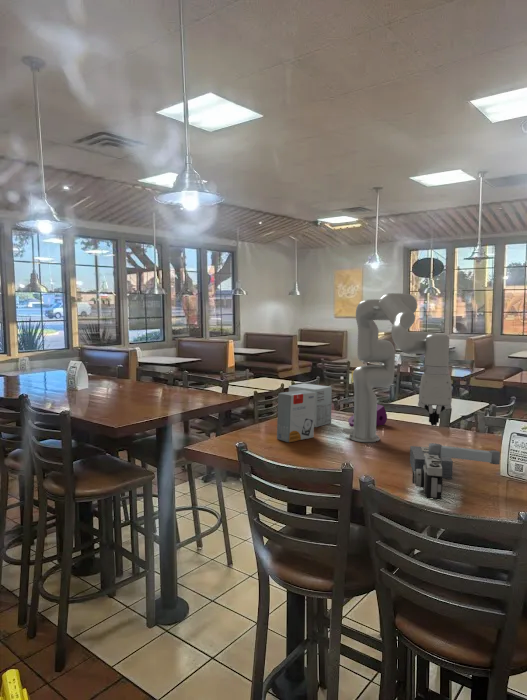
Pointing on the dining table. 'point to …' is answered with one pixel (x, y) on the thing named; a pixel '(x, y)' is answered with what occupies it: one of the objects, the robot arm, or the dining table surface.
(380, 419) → the mounting bracket
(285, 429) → the hard drive box
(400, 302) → the robot arm
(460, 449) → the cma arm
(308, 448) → the dining table surface
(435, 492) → the camera
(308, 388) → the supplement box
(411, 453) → the chassis
